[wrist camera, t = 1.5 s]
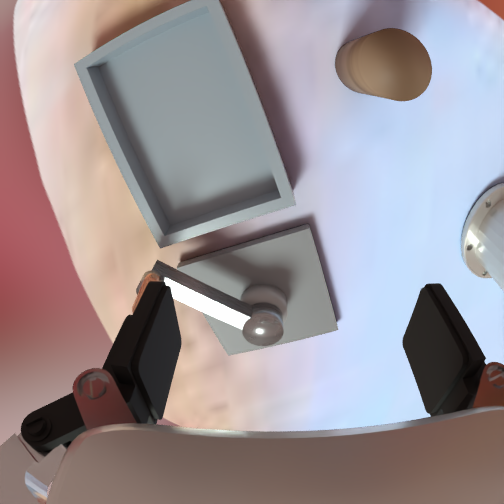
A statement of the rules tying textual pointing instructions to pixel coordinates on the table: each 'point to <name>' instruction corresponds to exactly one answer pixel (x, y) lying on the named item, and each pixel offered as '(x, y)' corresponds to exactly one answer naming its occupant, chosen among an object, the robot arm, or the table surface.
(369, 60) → the block
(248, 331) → the crank
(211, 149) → the tray
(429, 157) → the table surface
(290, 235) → the crank base
